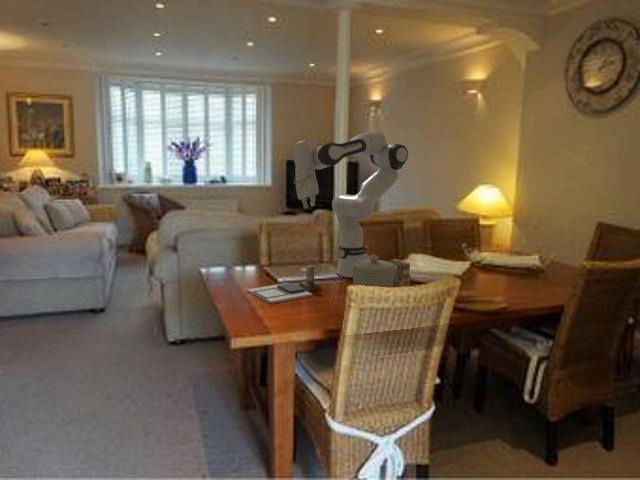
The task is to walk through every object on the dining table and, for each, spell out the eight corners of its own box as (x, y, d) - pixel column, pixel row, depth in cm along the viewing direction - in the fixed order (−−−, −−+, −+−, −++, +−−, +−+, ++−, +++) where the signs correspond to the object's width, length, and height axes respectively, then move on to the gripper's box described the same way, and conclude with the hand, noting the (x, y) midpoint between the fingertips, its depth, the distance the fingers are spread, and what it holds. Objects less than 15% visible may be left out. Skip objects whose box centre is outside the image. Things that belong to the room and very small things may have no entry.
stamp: (312, 285, 240) (312, 264, 238) (321, 289, 234) (321, 267, 232) (299, 287, 236) (299, 266, 234) (308, 291, 230) (308, 269, 228)
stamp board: (286, 285, 240) (286, 280, 239) (311, 295, 224) (312, 290, 223) (247, 291, 228) (247, 286, 228) (270, 303, 212) (270, 298, 212)
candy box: (409, 298, 223) (410, 262, 220) (401, 299, 221) (403, 263, 218) (395, 292, 230) (396, 258, 227) (387, 294, 228) (389, 259, 225)
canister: (345, 311, 204) (346, 258, 200) (354, 298, 221) (356, 249, 218) (391, 316, 200) (394, 261, 196) (397, 302, 217) (400, 252, 213)
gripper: (320, 172, 229) (323, 204, 229) (305, 179, 248) (308, 208, 248) (306, 173, 227) (310, 205, 227) (292, 180, 246) (296, 210, 246)
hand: (309, 207), depth 238 cm, fingers open, 8 cm apart
